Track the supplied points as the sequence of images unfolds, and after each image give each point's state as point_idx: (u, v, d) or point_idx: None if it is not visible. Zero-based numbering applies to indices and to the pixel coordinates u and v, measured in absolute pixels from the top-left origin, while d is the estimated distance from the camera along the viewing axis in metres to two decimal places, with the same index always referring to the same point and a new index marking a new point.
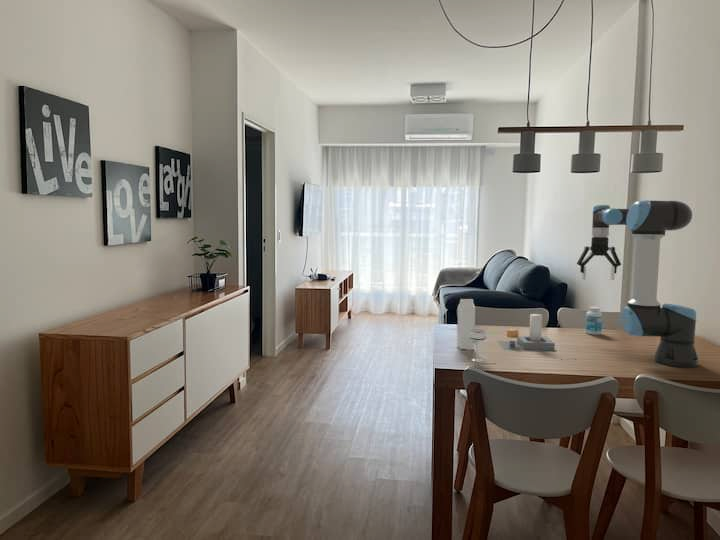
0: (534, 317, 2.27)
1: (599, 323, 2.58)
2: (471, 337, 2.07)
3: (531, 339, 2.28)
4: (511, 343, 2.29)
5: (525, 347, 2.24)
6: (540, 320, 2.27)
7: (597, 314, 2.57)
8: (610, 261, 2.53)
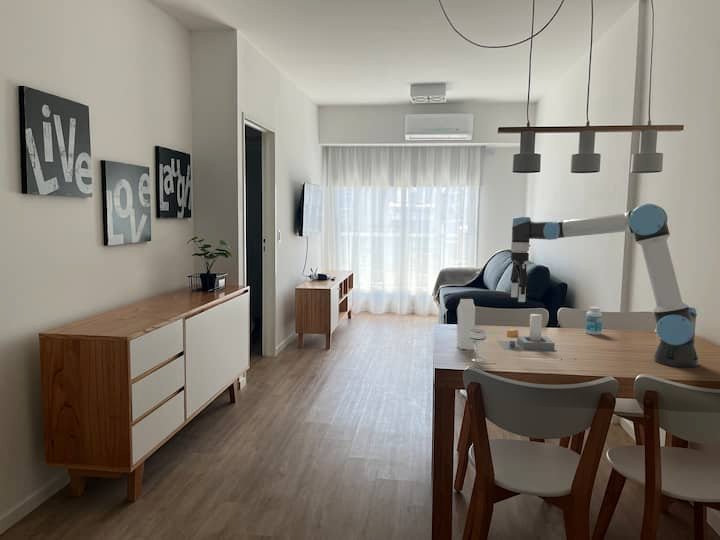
0: (534, 317, 2.27)
1: (599, 323, 2.58)
2: (471, 337, 2.07)
3: (531, 339, 2.28)
4: (511, 343, 2.29)
5: (525, 347, 2.24)
6: (540, 320, 2.27)
7: (597, 314, 2.57)
8: None
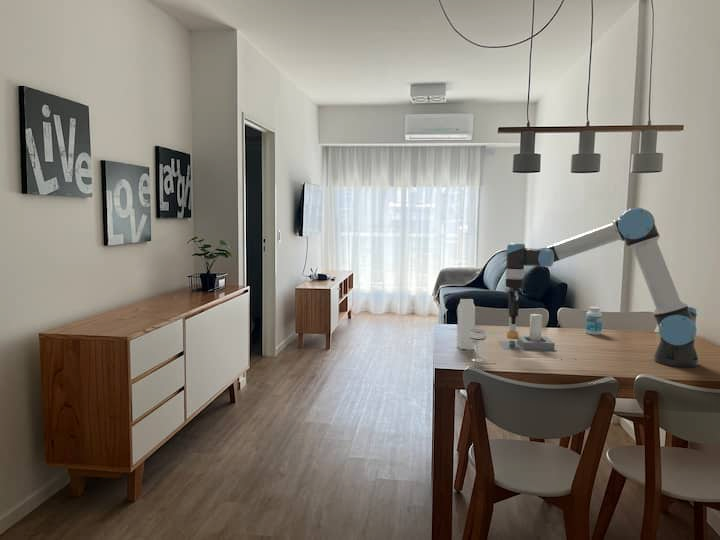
0: (534, 317, 2.27)
1: (599, 323, 2.58)
2: (471, 337, 2.07)
3: (531, 339, 2.28)
4: (511, 343, 2.29)
5: (525, 347, 2.24)
6: (540, 320, 2.27)
7: (597, 314, 2.57)
8: None
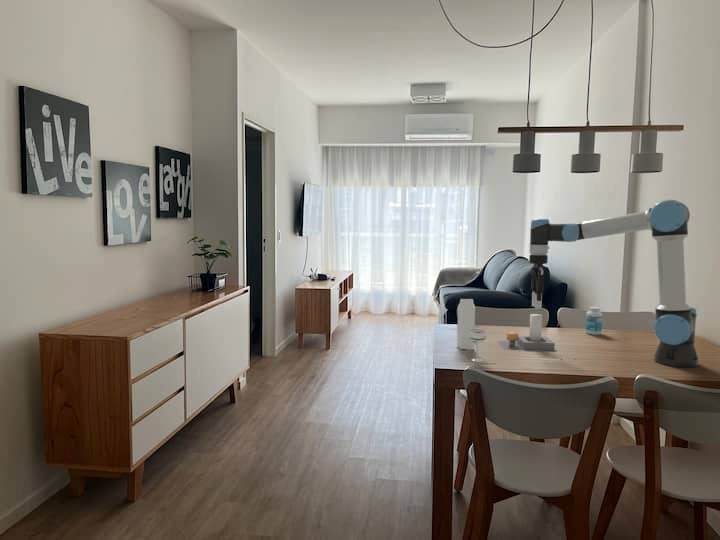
0: (534, 317, 2.27)
1: (599, 323, 2.58)
2: (471, 337, 2.07)
3: (531, 339, 2.28)
4: (511, 343, 2.29)
5: (525, 347, 2.24)
6: (540, 320, 2.27)
7: (597, 314, 2.57)
8: None
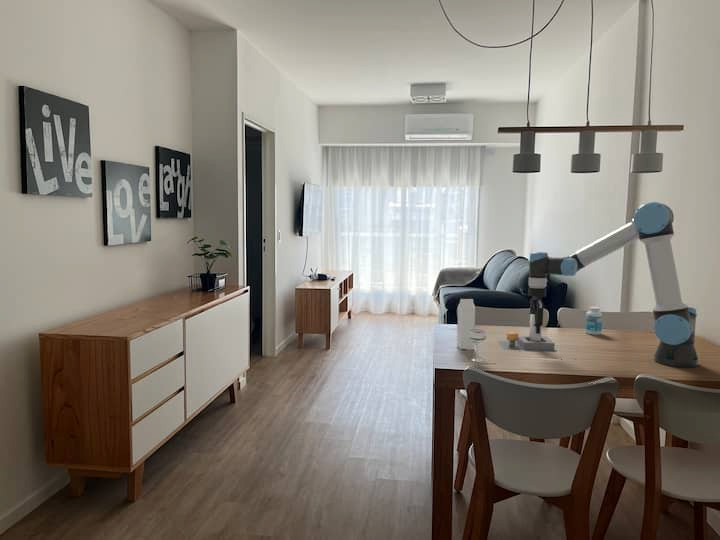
0: (534, 317, 2.27)
1: (599, 323, 2.58)
2: (471, 337, 2.07)
3: (531, 339, 2.28)
4: (511, 343, 2.29)
5: (525, 347, 2.24)
6: None
7: (597, 314, 2.57)
8: None
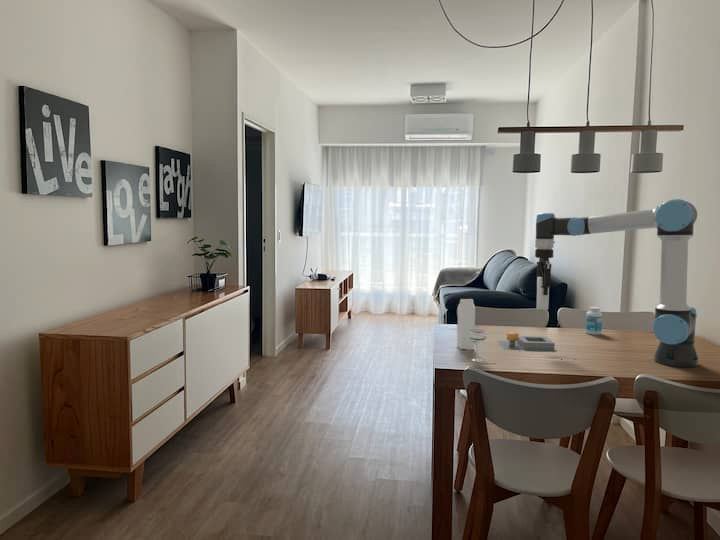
0: (541, 279, 2.25)
1: (599, 323, 2.58)
2: (471, 337, 2.07)
3: (538, 301, 2.27)
4: (511, 343, 2.29)
5: (525, 347, 2.24)
6: None
7: (597, 314, 2.57)
8: None
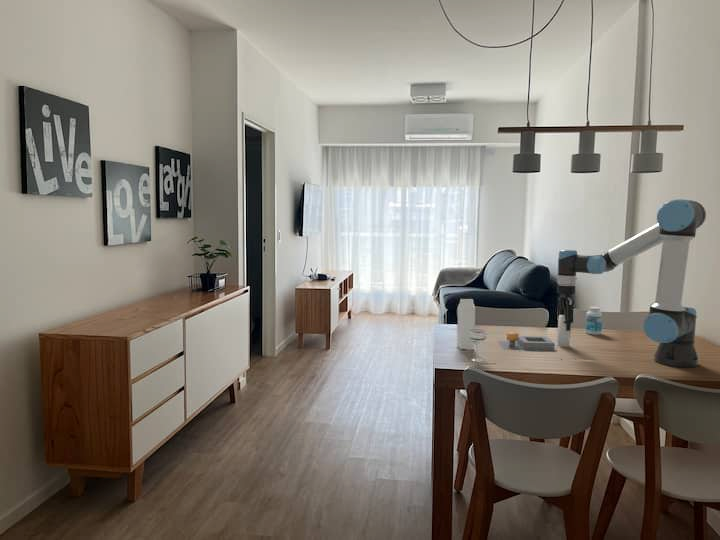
0: (563, 318, 2.28)
1: (599, 323, 2.58)
2: (471, 337, 2.07)
3: (560, 340, 2.29)
4: (511, 343, 2.29)
5: (525, 347, 2.24)
6: None
7: (597, 314, 2.57)
8: None
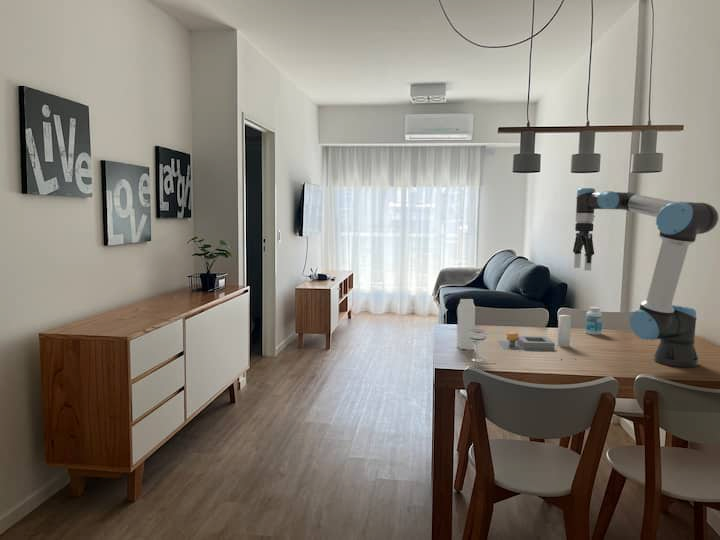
0: (563, 318, 2.28)
1: (599, 323, 2.58)
2: (471, 337, 2.07)
3: (560, 340, 2.29)
4: (511, 343, 2.29)
5: (525, 347, 2.24)
6: (569, 321, 2.28)
7: (597, 314, 2.57)
8: None
